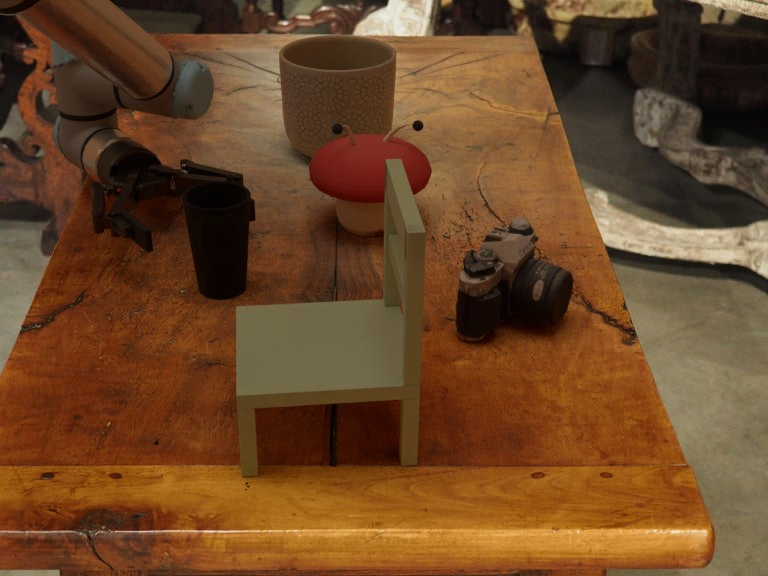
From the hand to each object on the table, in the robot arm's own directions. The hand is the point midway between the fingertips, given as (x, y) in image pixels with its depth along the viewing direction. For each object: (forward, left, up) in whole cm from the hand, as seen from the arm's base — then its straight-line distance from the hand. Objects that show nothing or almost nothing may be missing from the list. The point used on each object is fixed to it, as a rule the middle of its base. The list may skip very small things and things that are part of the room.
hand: (202, 226), depth 125 cm
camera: (+35, -13, -7) cm, 38 cm away
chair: (+12, -30, -7) cm, 33 cm away
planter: (+19, +37, -7) cm, 42 cm away
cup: (+2, -3, -7) cm, 8 cm away
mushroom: (+21, +12, -7) cm, 25 cm away
